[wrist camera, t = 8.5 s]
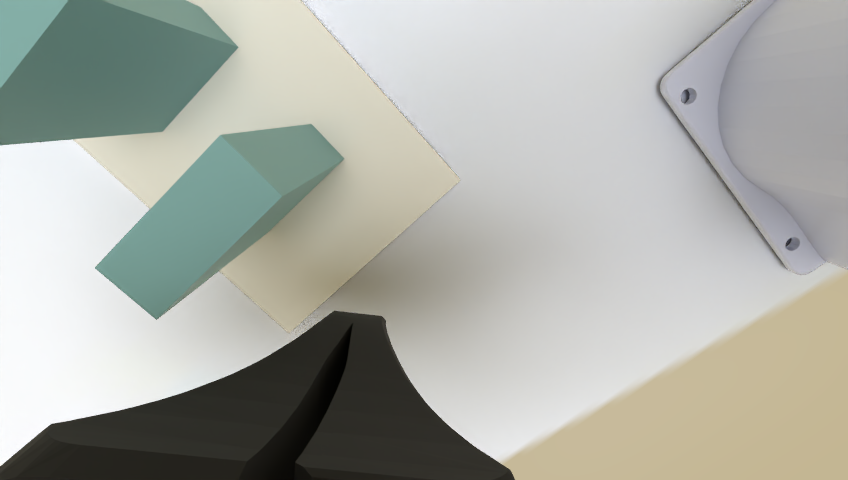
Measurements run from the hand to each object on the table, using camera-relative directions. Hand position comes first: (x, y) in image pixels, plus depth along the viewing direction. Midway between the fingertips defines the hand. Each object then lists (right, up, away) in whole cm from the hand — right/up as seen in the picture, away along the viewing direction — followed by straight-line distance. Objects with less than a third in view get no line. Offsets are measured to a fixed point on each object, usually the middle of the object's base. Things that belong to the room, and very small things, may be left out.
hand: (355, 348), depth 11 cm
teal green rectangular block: (-3, +5, +4) cm, 7 cm away
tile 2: (-6, +8, +3) cm, 11 cm away
